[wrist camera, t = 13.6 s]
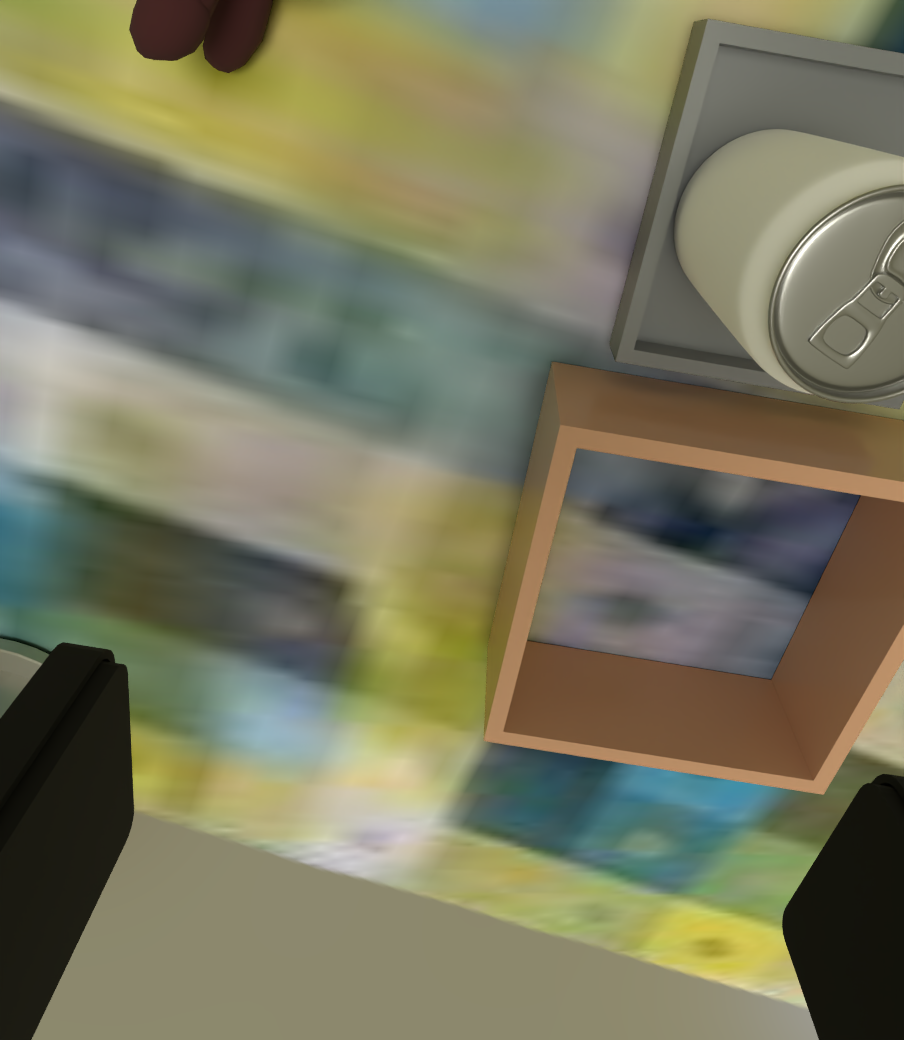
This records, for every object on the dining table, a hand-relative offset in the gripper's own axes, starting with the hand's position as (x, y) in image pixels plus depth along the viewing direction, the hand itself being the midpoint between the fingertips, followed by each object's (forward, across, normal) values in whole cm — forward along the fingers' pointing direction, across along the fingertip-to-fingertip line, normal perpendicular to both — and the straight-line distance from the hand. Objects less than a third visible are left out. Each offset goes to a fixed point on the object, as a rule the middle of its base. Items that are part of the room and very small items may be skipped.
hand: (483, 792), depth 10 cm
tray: (+26, -12, -5) cm, 29 cm away
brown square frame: (+27, -12, +10) cm, 31 cm away
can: (+26, -10, -5) cm, 28 cm away
